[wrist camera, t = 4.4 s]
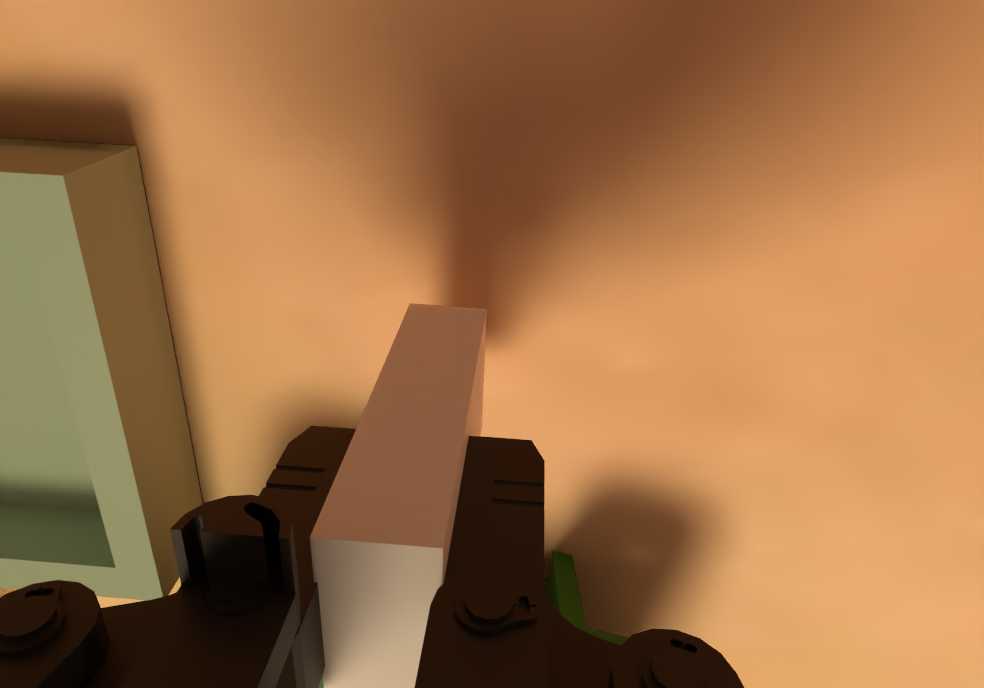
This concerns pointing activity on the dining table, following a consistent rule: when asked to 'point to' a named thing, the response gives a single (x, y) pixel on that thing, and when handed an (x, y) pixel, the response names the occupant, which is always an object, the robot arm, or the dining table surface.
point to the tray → (86, 377)
